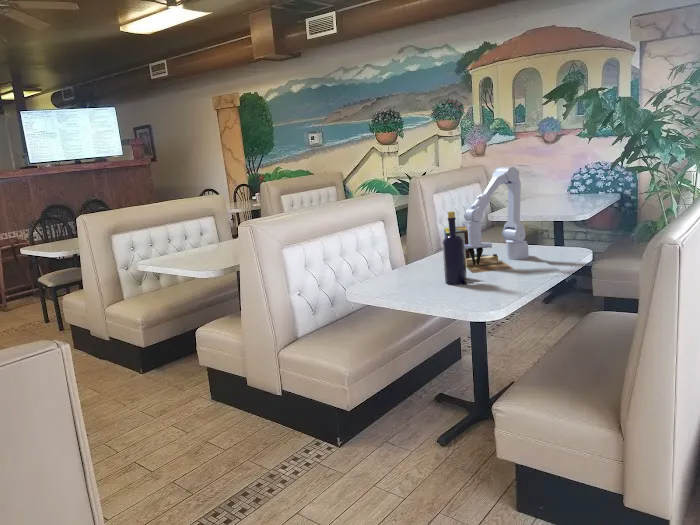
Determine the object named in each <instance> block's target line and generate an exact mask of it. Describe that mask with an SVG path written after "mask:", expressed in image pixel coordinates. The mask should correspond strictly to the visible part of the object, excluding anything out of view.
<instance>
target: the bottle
mask: <svg viewBox="0 0 700 525" xmlns="http://www.w3.org/2000/svg"><path fill="white" fill-rule="evenodd" d="M456 218H457V217H456V212H455V210H454V211H453V210H452V211H448V212H447V221H448V228H449V233H450V236H447V237H445V236H444V239H443V241H442V252H443V253H442V254H443V267H444V269H443V270H444V279H445V280H444V281H445V284H447V285H448V286H449V285H450V286H459V285H465V284H466V283H467V281H466V280H467V278H468V277H467V268H466V262H465V248H464V240H463V239H462V238H461V236H459V235H456V227H457V226H456V220H457V219H456Z"/></svg>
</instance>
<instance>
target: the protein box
mask: <svg viewBox="0 0 700 525" xmlns="http://www.w3.org/2000/svg"><path fill="white" fill-rule="evenodd" d="M455 227H456V235H459V236H461V238H462V239H463V240H464V245H466V244H469V242H468V228H466V226H464V225H462V226H461V225H460V226H455ZM443 232H444V238H445V237H447V236H450V233H449V227H444V229H443ZM467 258H471V256H470V253H469V251H468V249H466V250H465V259H467Z"/></svg>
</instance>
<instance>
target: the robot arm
mask: <svg viewBox="0 0 700 525" xmlns="http://www.w3.org/2000/svg"><path fill="white" fill-rule="evenodd" d="M521 184H522V183H521V179H520V171H519V170H518V169H517V168H516V167H515V166H509V167H507V166H505V167H504V166H503V167H502V166H499V167H497V168H496V169H495V170H494V172H493V173H492V177H491V179H490V181H489V183H488V184H487V187H486V188H485V190H484V192H483V193H481V194H478V195H477V196H476V198H475V201H474V202H473V204H471V206H470V207H469V208H467V209H466V211H465V212H464V215H463V217H464V219H465V221H466V224H467V231H468V242H469V244H466V245H464V248H465V250H466V249H468V251H469V256H470V258H472V261H473V265H475V258H476V257H477V264H478V265H479V261H480V257H482V255H483V252H484V249H488V248H489V249H491V248H493V246H492V242H482V230H481V229H482V228H481V221H482V219H483V218H484V211H485V210H486V208H487V207H488V205H490V203H491V199H490V198H491V196H493V195H494V192H496V190H497V189H498V188H499V187H500V185H505V186H506V187H507V188H508V189H507V221H506V222H505V223H504V225H503V230H502V233H501V234H502V235H501V236H502V238H503V239H504V242H506V243H505V244H506V258H507V260H514V261H515V260H523V259H529V244H528V241H527V240H525V238H526V236H527V235H526V231H525V225H524V224H523V223H522V222H521V186H522V185H521ZM475 251H476V252H475ZM475 254H476V256H475Z"/></svg>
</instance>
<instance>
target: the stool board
mask: <svg viewBox="0 0 700 525" xmlns="http://www.w3.org/2000/svg"><path fill="white" fill-rule="evenodd" d="M513 269H514V268H513V267H512V266H511V265H510V264H507V263H506V262H504V261H503V260H498V263H492V264H484V265H475V266H466V270H468V271H469V272H471V273H472V274H476V273H477V274H478V273H485V272H486V273H487V272H494V271H503V270H513Z"/></svg>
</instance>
